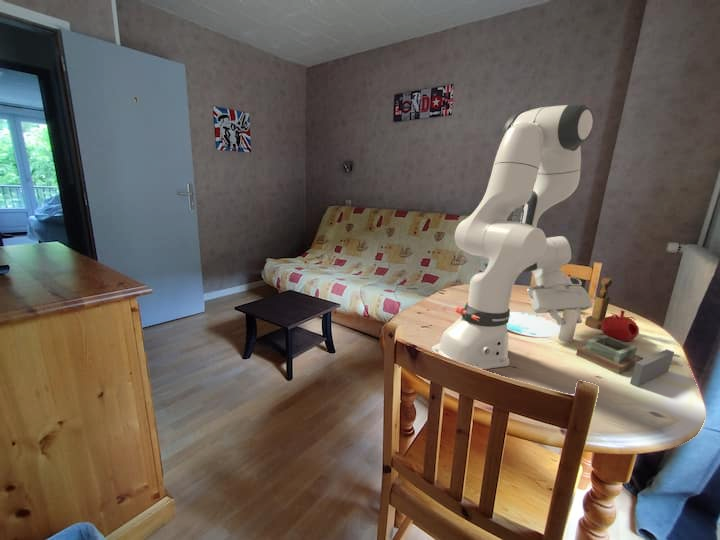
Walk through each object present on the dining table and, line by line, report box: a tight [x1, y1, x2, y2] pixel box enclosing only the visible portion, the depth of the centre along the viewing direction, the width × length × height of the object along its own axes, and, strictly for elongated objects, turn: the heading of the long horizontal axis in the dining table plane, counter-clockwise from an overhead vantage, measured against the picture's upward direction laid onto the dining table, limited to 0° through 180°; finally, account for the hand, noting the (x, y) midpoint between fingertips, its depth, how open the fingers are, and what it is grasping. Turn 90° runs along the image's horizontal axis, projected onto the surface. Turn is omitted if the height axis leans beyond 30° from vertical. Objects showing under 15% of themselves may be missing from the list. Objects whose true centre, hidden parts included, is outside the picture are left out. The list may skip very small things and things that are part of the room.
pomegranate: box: [601, 310, 640, 342], centre depth 105 cm, size 10×10×9 cm
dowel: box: [558, 309, 579, 343], centre depth 103 cm, size 4×4×10 cm
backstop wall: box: [629, 349, 675, 387], centre depth 83 cm, size 16×2×6 cm, turn 116°
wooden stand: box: [584, 277, 613, 331], centre depth 112 cm, size 7×6×18 cm
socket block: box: [575, 334, 644, 375], centre depth 92 cm, size 12×11×5 cm
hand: (570, 323), depth 102 cm, fingers open, 5 cm apart
